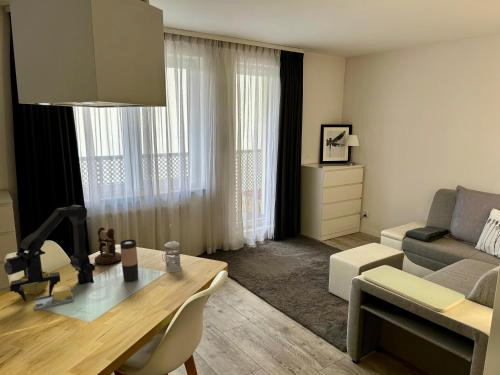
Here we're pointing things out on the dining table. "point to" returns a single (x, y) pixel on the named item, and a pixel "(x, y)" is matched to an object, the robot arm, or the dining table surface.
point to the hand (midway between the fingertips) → (38, 299)
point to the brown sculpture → (107, 247)
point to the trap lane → (50, 301)
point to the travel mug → (129, 260)
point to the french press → (176, 259)
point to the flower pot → (35, 285)
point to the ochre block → (61, 292)
